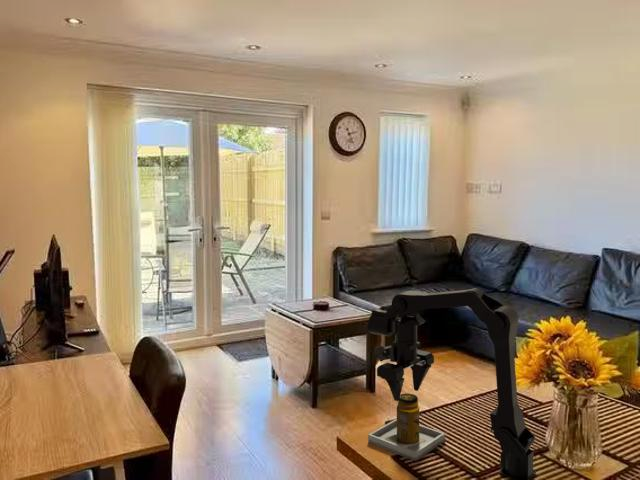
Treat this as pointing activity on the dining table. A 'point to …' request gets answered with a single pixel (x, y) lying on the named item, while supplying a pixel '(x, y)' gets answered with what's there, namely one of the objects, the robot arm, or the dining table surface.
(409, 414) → the condiment
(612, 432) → the dining table surface
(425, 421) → the dining table surface
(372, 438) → the tray
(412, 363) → the robot arm
